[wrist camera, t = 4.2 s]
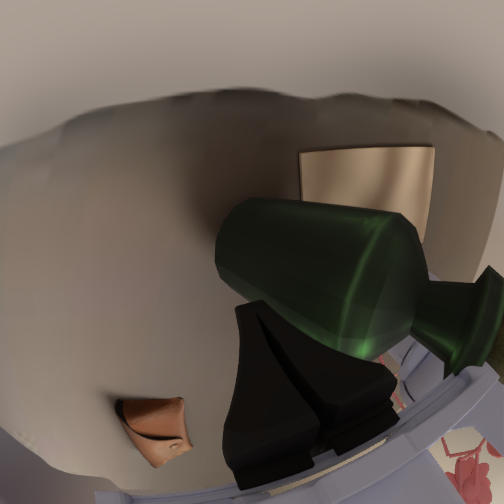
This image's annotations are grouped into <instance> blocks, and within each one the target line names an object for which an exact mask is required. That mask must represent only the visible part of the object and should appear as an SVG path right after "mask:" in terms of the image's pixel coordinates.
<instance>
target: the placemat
mask: <svg viewBox="0 0 504 504" xmlns="http://www.w3.org/2000/svg"><path fill="white" fill-rule="evenodd" d="M434 154H435V147H371V148H352V149H338V150H325V151H314V152H305V153H299V164H300V184H301V201H310V202H320V203H329V204H338V205H346V206H354V207H362V208H369V209H377V210H384V211H391V212H397V213H401V214H402V215H403V216H404V217H406V218H407V219H408V220H409V221H410V222H411V223H412V224H413V225H414V226H415V227H416V229H417V232H418V235H419V238H420V242H423V239H424V234H425V229H426V223H427V217H428V211H429V204H430V197H431V189H432V179H433V168H434Z"/></svg>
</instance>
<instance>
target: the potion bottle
mask: <svg viewBox="0 0 504 504" xmlns="http://www.w3.org/2000/svg"><path fill="white" fill-rule="evenodd" d="M215 264H216V267H217V270H218V273H219V276H220V278H221V279H222V280H223V281H224V282H225V283H226V284H227V285H228V286H229V287H230V288H232V289H233V290H234V291H236V292H237V293H239V294H240V295H241V296H243V297H244V298H245V299H247V300H248V301H250V302H253V301H257V300H260V299H262V300H264V301H265V302H266V303H267V304H268V305H269V306H270V307H271V308H273V309H274V310H275V311H276V312H277V313H278V314H279V315H281V316H282V317H283V318H284V319H286V320H287V321H288V322H290V323H291V324H292V325H294V326H295V327H296V328H298V329H299V330H301V331H302V332H304V333H305V334H307V335H308V336H310V337H312V338H313V339H315V340H317V341H319V342H321V343H322V344H324V345H326V346H328V347H330V348H333V349H335V350H337V351H340V352H342V353H345V354H347V355H350V356H353V357H356V358H359V359H363V360H366V361H373V360H374V359H376V358H377V357H379V356H380V355H382V354H383V353H385V352H386V351H388V350H389V349H391V348H392V347H394V346H395V345H397V344H398V343H399V342H401V341H402V340H403V339H405V338H406V337H407V336H409V335H410V336H411V337H413V338H414V339H415V340H416V341H418V342H419V343H420V344H421V345H423V346H424V347H425V348H426V349H428V350H429V351H430V352H431V353H433V354H434V355H435V356H436V357H438V358H439V359H440V360H441V361H443V362H444V375H443V380H444V379H445V378H447V377H448V376H449V375H450V374H451V373H453V374H454V376H457V375H459V374H460V372H461V371H462V370H463V369H464V368H466V367H468V366H477V367H482V366H483V364H484V362H485V361H486V362H487V363H488V364H489V365H490V366H491V367H492V368H493V369H494V371H495V372H496V373H497V374H498V375H499V376H500V378H499V379H498V381H499V382H500V383H502V384H503V385H504V278H503V277H502V276H501V275H500V274H499V273H497V272H496V271H495V270H494V269H493V268H492V267H491V266H489V265H488V267H487V268H486V269H485V270H484V272H483V273H482V275H481V276H480V277H479V278H478V279H477V281H476V282H475V283H463V282H448V281H432V280H430V279H429V274H428V269H427V265H426V261H425V257H424V253H423V249H422V245H421V242H420V238H419V235H418V232H417V229H416V227H415V226H414V225H413V224H412V223H411V222H410V221H409V220H408V219H407V218H406V217H404V216H403V215H402V214H401V213H397V212H391V211H384V210H377V209H369V208H362V207H354V206H346V205H338V204H329V203H320V202H310V201H300V200H289V199H277V198H249V199H248V200H246V201H244V202H242V203H240V204H239V205H237V206H236V207H235V208H234V209H233V210H232V211H231V213H230V214H229V215H228V216H227V218H226V219H225V220H224V221H223V223H222V226H221V228H220V231H219V234H218V236H217V239H216V246H215Z"/></svg>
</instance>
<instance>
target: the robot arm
mask: <svg viewBox="0 0 504 504" xmlns="http://www.w3.org/2000/svg"><path fill="white" fill-rule="evenodd" d="M428 274H429V279H430V280H432V281H441V280H440V279H438V278H437V277H436V276H434V275H433V274H432V273H430V272H429V271H428ZM235 313H236V318H237V323H238V328H239V336H240V347H239V364H238V372H237V378H236V384H235V389H234V393H233V397H232V401H231V405H230V409H229V412H228V415H227V418H226V421H225V424H224V431H223V441H222V450H223V455H224V458H225V461H226V464H227V466H228V467H229V468H230V469H231V470H232V472H233V474H234V477H235V480H236V482H235V483H231V484H227V485H222V486H217V487H212V488H206V489H200V490H194V491H187V492H178V493H169V494H156V495H135V496H134V495H129V494H127V493H124V492H118V491H97V490H96V491H95V500H96V504H466V503H465V502H464V500H463V499H462V497H461V496H460V494H459V493H458V491H457V490H456V488H455V487H454V486H453V484H452V483H451V481H450V480H449V478H448V477H447V476H446V474H445V473H444V471H443V470H442V468H441V467H440V466H439V464H438V463H437V461H436V460H435V459H434V457H433V456H432V454H431V453H430V452H429V450H428V448H429V447H430V446H432V445H433V444H434V443H436V442H437V441H438V440H439V439H440V438H442V437H443V436H444V435H445V434H446V433H447V432H448V431H453V430H457V429H462V428H467V427H474V428H475V429H476V430H477V431H478V432H479V433H480V434H481V435H482V436H483V437H484V438H485V439H486V440H487V441H488V442H489V443H490V444H491V445H492V446H493V447H494V448H495V449H496V450H497V451H498V452H499V453H500V454H501V455H502V456H503V457H504V385H503V384H502V383H500V382H499V381H498V379H499V378H500V376H499V375H498V374H497V373H496V372H495V371H494V369H493V368H492V367H491V366H490V365H489V364H488V363H487V362H486V361H485V362H484V364H483V366H482V367H477V366H468V367H466V368H464V369H463V370H462V371H461V372H460V374H459V375H457V376H454V374H453V373H451V374H450V375H449V376H448V377H447V378H445V379H444V380H443V375H444V362H443V361H441V360H440V359H439V358H438V357H436V356H435V355H434V354H433V353H431V352H430V351H429V350H428V349H426V348H425V347H424V346H423V345H421V344H420V343H419V342H418V341H416V340H415V339H414V338H413V337H411V336H410V335H409V336H407V337H406V338H405V339H403V340H402V341H401V342H399V343H398V344H397V345H395V346H394V347H392V348H391V349H389V350H388V351H387V352H388V353H389V354H390V355H391V356H392V357H393V359H394V360H395V361H396V362H397V363H398V364H399V366H400V367H401V368H400V369H399V371H398V372H397V373H398V374H399V375H400V377H401V378H402V379H401V381H400V383H399V388H400V394H401V397H402V400H403V401H404V403H405V405H406V406H407V407H406V408H405V409H403V410H402V411H400V412H399V413H398V414H397V413H396V412H395V410H394V409H393V408H392V406H393V402H392V401H391V399H390V397H391V395H392V393H393V392H394V390H395V388H396V386H397V379H396V378H395V376H394V375H393V374H392V373H391V371H390V370H389V369H388V368H386V367H385V365H384V364H380V363H375V362H371V361H366V360H363V359H359V358H356V357H353V356H350V355H347V354H345V353H342V352H340V351H337V350H335V349H333V348H330V347H328V346H326V345H324V344H322V343H321V342H319V341H317V340H315V339H313V338H312V337H310V336H308V335H307V334H305V333H304V332H302V331H301V330H299V329H298V328H296V327H295V326H294V325H292V324H291V323H290V322H288V321H287V320H286V319H284V318H283V317H282V316H281V315H279V314H278V313H277V312H276V311H275V310H274V309H273V308H271V307H270V306H269V305H268V304H267V303H266V302H265V301H264V300H262V299H260V300H257V301H253V302H250V303H246V304H243V305H239V306H236V308H235ZM391 434H392V435H391ZM388 436H389V437H388ZM387 437H388V438H387ZM385 438H387V439H386V441H385V442H384V444H382V445H380V446H379V447H377V448H375V449H374V450H372V451H370V452H368V453H367V454H365V455H363V456H361V457H359V458H358V459H355V460H353V461H351V462H349V463H348V464H345V465H343V466H342V467H339V468H337V469H336V470H333V471H331V472H329V473H327V474H325V475H323V476H321V477H318V478H316V479H314V480H312V481H309V482H307V483H305V484H302V485H300V486H298V487H295V488H293V489H290V490H288V491H285V492H282V493H280V494H277V495H274V496H271V495H270V493H268V492H265V491H269V490H272V489H275V488H278V487H281V486H284V485H287V484H290V483H293V482H296V481H299V480H301V479H304V478H306V477H309V476H311V475H314V474H316V473H318V472H321V471H323V470H326V469H328V468H330V467H332V466H335V465H337V464H339V463H341V462H343V461H345V460H347V459H349V458H351V457H353V456H355V455H357V454H359V453H360V452H362V451H364V450H366V449H368V448H370V447H371V446H373V445H375V444H377V443H378V442H380V441H382V440H383V439H385ZM262 492H265V493H262ZM258 493H260V494H258Z"/></svg>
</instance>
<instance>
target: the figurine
mask: <svg viewBox="0 0 504 504" xmlns="http://www.w3.org/2000/svg"><path fill="white" fill-rule="evenodd" d="M379 360H380V363H381V364H384V361H383V358H382V355H380V356H379ZM384 365H385V364H384ZM397 374H398V373H397ZM397 374H396V375H397ZM396 375H395V376H396ZM392 395H393V396H394V398H395V399H396V401H397V402H398V404H399V405H400V406H401V408H402V409H405V408H404V406H403V405H402V403H401V402H400V400H399V399H398V398H397V396H396V395H395V393H394V392H393V393H392ZM441 440H442V443H443V446H444V449H445V453H446V456H449V455H450V456H449V457H456V456H461V455H465V454H468V455H466V456H464V457H459V458H458V459H457V462H456V465H455V474H453V473H450V472H446V473H445V474H446V476H447V477H448V478H449V480H450V481H451V483H452V484H453V486H454V487H455V488H456V490H457V491H458V493H459V494H460V496H461V497H462V499H463V500H464V502H465V503H466V504H490V502H491V501H492V494H491V491H490V488H489V487H490V484H491V483H490V481H489V479H488V478H487V477H486V475H487V473H488V470H489V465H488V464H487V463H481V464H478V463H479V453H480V451H481V446H482V445H483V444H484V442H485V440H486V439H485V438H484V439H483V440H482V442H481V443H480V445H479V446H478V447H477V448H476V449H475V450H470V451H465V452H460V453H456V454H450V453H449V451H448V448H447V445H446V443H445V440H444V437H442V438H441ZM487 450H488V452H489V453H490V454H491V455H492V456H494V457H497V458H500V457H503V456H502V455H501V454H500V453H499V452H498V451H497V450H496V449H495V448H494V447H493V446H492V445H491V444H490V443H489V442H488V441H487ZM469 453H470V454H469ZM474 454H476V458H475V459H474V458H473V457H471V456H473V455H474ZM469 457H470V458H469ZM467 458H469V459H467ZM465 459H467V460H465Z"/></svg>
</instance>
